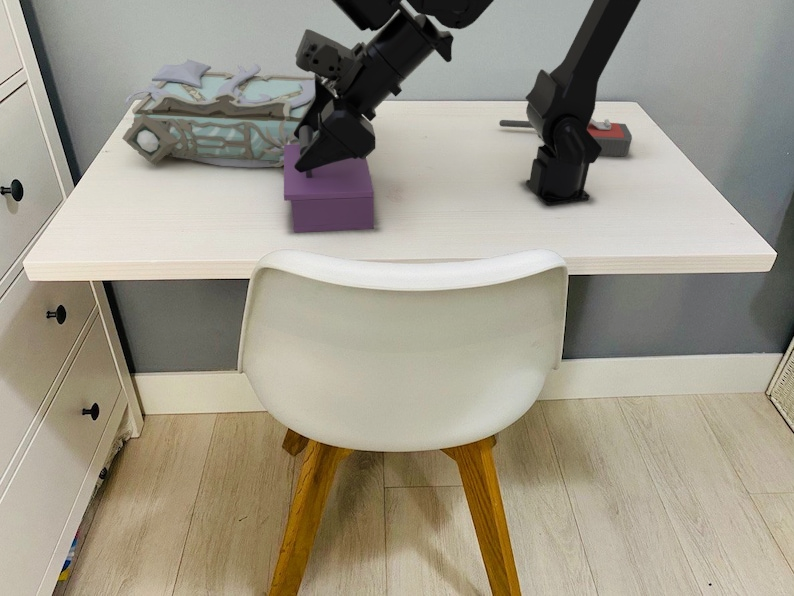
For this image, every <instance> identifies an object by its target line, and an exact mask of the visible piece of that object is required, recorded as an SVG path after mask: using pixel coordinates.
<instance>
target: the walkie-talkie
mask: <svg viewBox="0 0 794 596" xmlns="http://www.w3.org/2000/svg"><path fill="white" fill-rule="evenodd" d="M498 124H499V126H500V127H502V128H503V127H505V128H524V129H525V128H526V129H534V128H533V126H532V125H531V124H530V122H529V120H513V119H500V120H499V123H498ZM587 131H588V132H589V133H590V134H591V135H592V137H593V138H594V139H595V140H596V141H597V143H598V144H599V145H600V146H601V147H602V150H601V152H600V154H599V155H598V156H606V157H607V156H608V157H625V156H628V154H629V151H630V147H631V144H632V139H633V135H632V133H631V131H630V129H629V128H628V126H627V124H626V123H619V122H611V121H610V120H609V119H608V118H607V119H604V122H601V121H596V120H595V119H594V118H591V120H590V123H589V126H588V129H587Z"/></svg>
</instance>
